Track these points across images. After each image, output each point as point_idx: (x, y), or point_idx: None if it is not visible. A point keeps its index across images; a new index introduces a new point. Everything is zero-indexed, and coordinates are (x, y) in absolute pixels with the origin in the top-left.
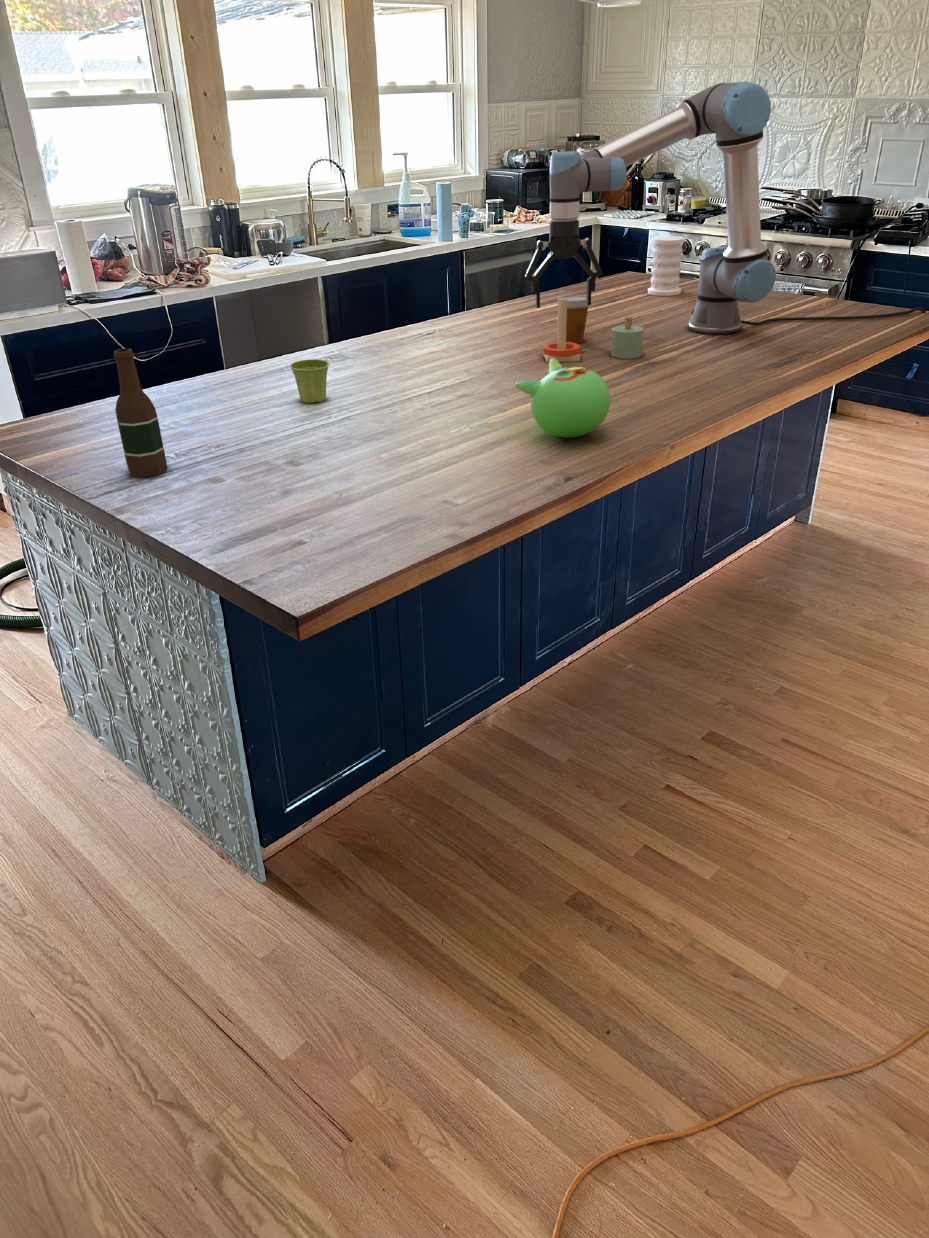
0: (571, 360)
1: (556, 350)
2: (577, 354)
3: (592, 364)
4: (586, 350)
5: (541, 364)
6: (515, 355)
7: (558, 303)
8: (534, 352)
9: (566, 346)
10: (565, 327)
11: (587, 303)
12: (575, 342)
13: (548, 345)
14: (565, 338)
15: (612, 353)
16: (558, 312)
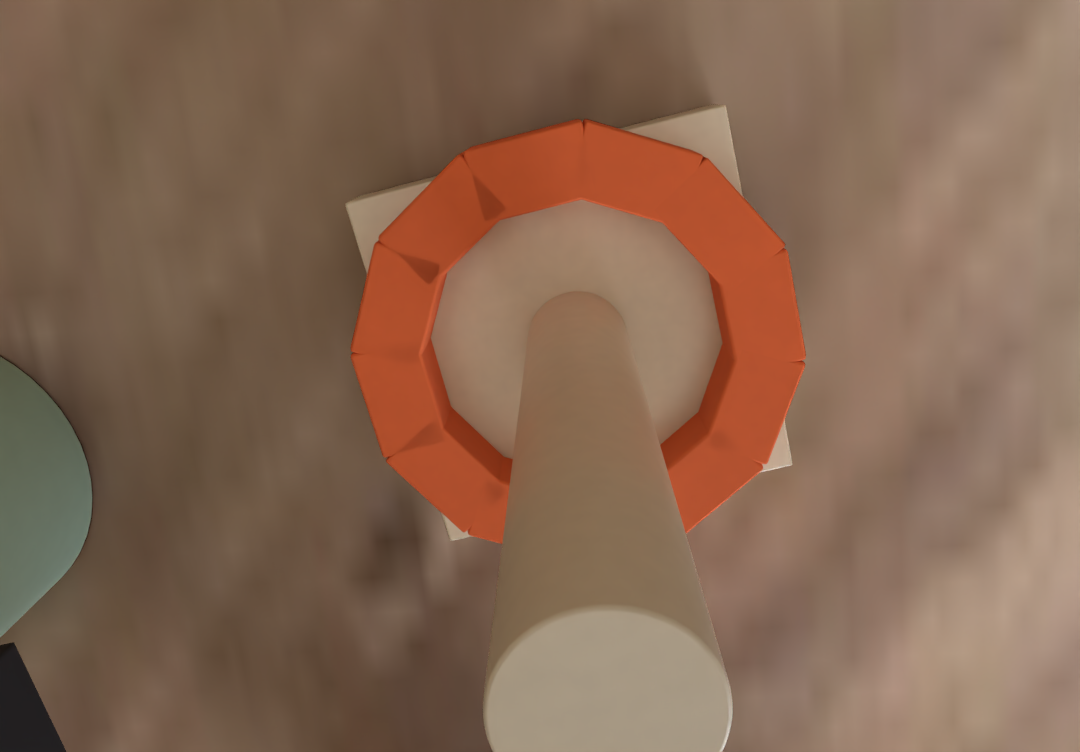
0: None
1: (623, 138)
2: None
3: (206, 72)
4: (358, 621)
5: (774, 24)
6: (1069, 393)
7: (700, 599)
8: (868, 521)
9: None
10: (526, 403)
11: (32, 732)
12: None
13: (739, 385)
14: (528, 364)
15: (48, 423)
16: (669, 501)
